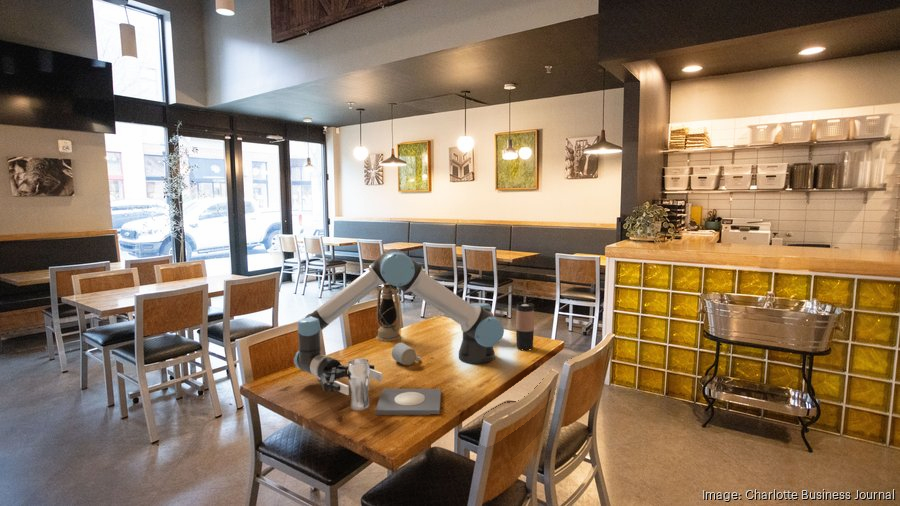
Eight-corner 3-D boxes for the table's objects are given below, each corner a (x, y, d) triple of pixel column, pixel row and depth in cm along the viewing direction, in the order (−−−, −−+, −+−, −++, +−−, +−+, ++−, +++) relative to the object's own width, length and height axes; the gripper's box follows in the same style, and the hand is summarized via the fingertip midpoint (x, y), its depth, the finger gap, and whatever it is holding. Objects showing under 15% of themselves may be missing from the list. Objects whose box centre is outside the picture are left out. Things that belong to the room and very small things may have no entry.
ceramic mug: (402, 368, 183) (402, 349, 182) (391, 362, 189) (391, 344, 188) (424, 362, 190) (424, 344, 189) (412, 357, 196) (412, 339, 195)
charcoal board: (440, 392, 160) (440, 388, 159) (439, 414, 144) (439, 409, 144) (383, 393, 160) (383, 388, 160) (375, 414, 144) (375, 409, 144)
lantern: (408, 337, 223) (407, 275, 219) (391, 343, 213) (389, 279, 210) (386, 332, 231) (384, 273, 228) (368, 338, 222) (367, 276, 218)
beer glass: (350, 401, 153) (349, 358, 151) (371, 401, 154) (370, 357, 152) (347, 411, 146) (346, 366, 144) (369, 410, 147) (368, 365, 145)
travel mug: (522, 352, 201) (523, 307, 198) (512, 347, 208) (513, 303, 205) (536, 349, 204) (537, 305, 202) (526, 344, 211) (527, 301, 209)
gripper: (355, 368, 170) (394, 382, 157) (294, 389, 152) (332, 408, 138) (354, 348, 170) (394, 361, 156) (293, 367, 151) (331, 384, 137)
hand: (365, 383), depth 147 cm, fingers open, 13 cm apart
